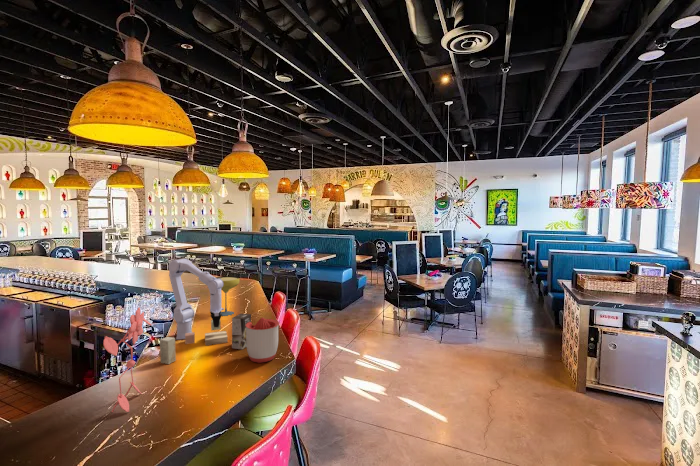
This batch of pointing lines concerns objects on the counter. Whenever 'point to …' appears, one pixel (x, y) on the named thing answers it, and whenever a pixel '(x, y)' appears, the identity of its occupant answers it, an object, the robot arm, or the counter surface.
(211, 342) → the maple board
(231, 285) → the cocktail glass
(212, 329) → the sage cube
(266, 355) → the citrus juicer
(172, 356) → the box
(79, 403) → the counter surface
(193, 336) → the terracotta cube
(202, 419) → the counter surface
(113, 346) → the pink thin branching piece
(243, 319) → the coffee box
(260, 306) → the counter surface
